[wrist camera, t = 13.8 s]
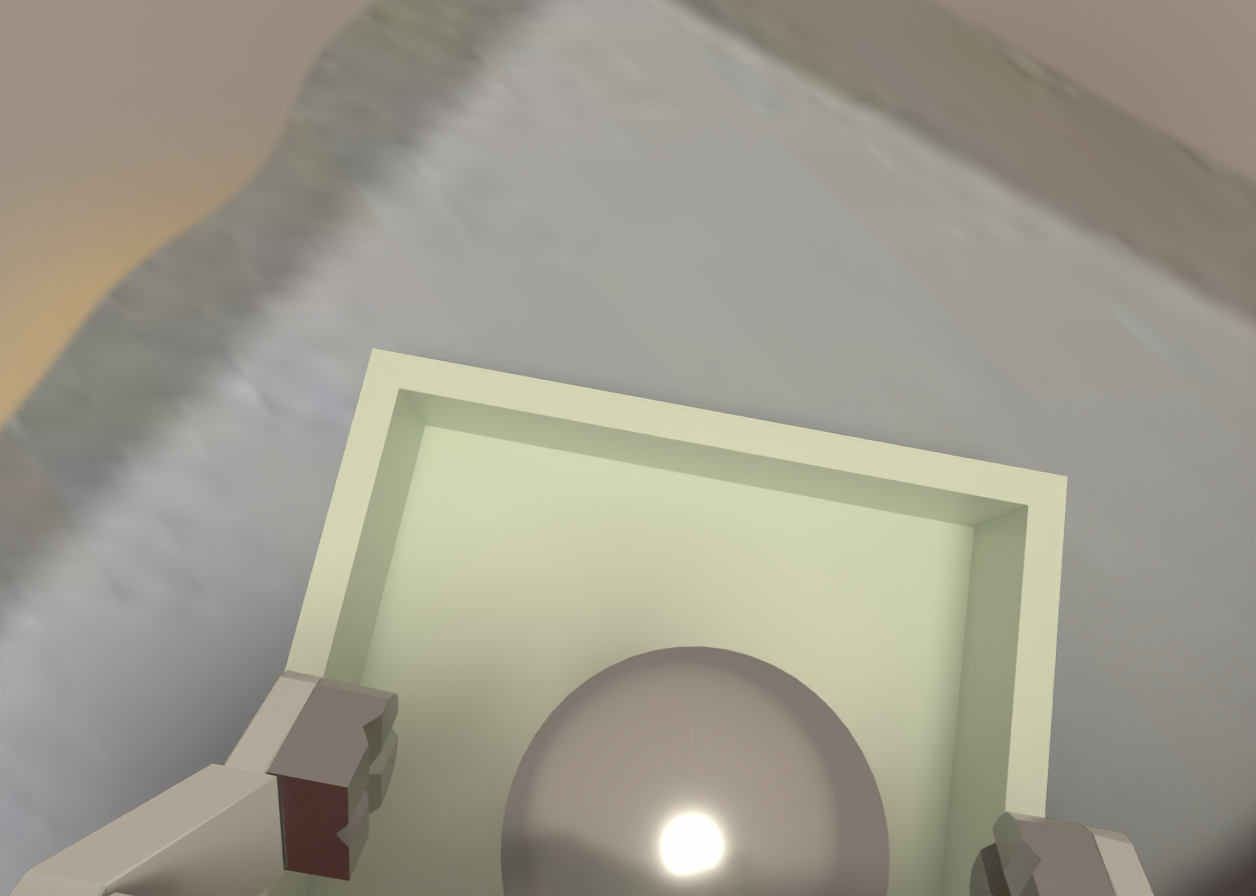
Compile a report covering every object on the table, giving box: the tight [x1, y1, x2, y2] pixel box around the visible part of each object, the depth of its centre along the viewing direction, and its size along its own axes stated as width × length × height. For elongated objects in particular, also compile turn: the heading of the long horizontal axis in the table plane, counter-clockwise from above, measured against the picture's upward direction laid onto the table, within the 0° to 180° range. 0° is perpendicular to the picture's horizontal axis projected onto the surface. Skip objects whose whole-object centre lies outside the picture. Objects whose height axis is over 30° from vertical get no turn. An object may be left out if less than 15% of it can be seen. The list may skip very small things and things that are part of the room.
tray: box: [259, 348, 1067, 896], centre depth 20 cm, size 16×16×4 cm
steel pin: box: [501, 646, 890, 896], centre depth 16 cm, size 4×4×11 cm
